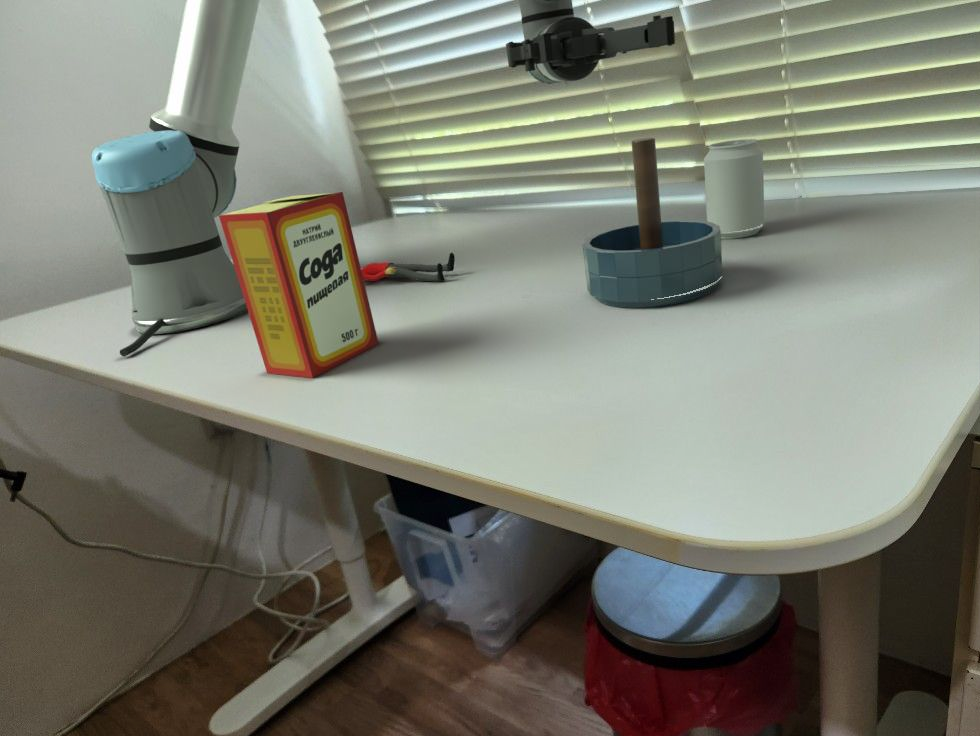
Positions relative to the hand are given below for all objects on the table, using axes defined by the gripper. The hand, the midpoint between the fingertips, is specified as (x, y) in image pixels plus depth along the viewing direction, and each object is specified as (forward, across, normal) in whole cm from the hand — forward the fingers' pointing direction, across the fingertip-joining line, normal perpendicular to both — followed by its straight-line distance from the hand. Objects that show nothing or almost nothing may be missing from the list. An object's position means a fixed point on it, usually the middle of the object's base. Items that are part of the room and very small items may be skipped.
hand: (609, 38), depth 80 cm
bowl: (+9, 0, -26) cm, 27 cm away
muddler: (+9, 0, -25) cm, 26 cm away
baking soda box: (+11, +36, -26) cm, 46 cm away
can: (-10, -18, -26) cm, 33 cm away
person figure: (-20, +28, -26) cm, 43 cm away
